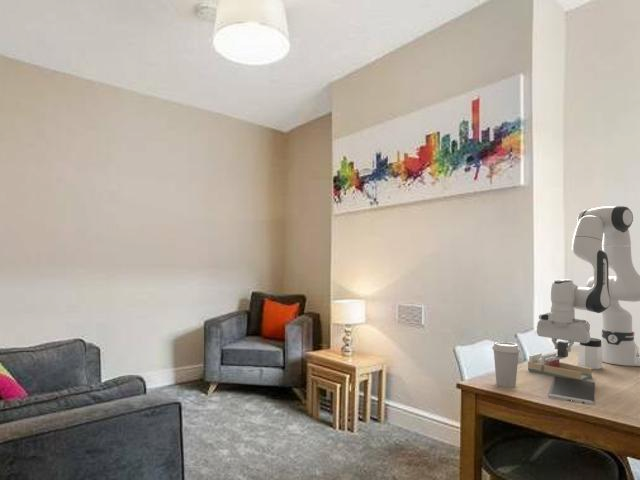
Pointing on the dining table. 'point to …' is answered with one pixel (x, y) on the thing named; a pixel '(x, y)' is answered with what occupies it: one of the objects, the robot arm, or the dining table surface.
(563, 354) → the kicker rod
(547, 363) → the ball
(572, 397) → the smartphone
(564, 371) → the pitch
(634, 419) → the dining table surface
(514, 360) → the coffee cup
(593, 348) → the jar
